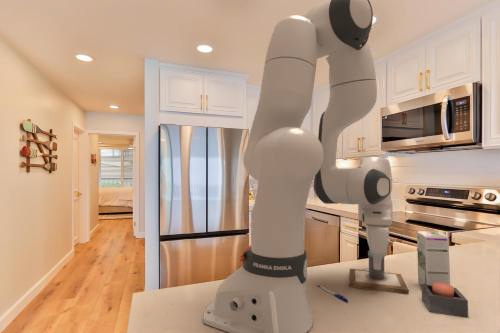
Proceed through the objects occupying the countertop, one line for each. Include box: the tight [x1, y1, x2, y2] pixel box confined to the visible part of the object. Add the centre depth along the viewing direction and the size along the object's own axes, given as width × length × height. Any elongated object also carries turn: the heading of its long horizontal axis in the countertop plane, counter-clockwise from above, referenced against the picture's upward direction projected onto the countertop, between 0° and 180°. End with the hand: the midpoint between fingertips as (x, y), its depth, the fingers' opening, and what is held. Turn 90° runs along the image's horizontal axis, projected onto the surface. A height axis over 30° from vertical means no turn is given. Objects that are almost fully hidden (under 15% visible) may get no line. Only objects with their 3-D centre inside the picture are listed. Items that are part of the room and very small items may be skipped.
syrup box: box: [416, 230, 451, 287], centre depth 73 cm, size 6×6×14 cm
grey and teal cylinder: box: [367, 249, 386, 280], centre depth 78 cm, size 4×4×7 cm
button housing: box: [421, 284, 469, 318], centre depth 63 cm, size 7×7×4 cm
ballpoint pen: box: [317, 285, 349, 303], centre depth 70 cm, size 10×1×1 cm, turn 27°
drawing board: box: [349, 268, 410, 295], centre depth 78 cm, size 14×12×1 cm
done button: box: [432, 282, 455, 297], centre depth 63 cm, size 4×4×2 cm
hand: (375, 263), depth 78 cm, fingers open, 8 cm apart
